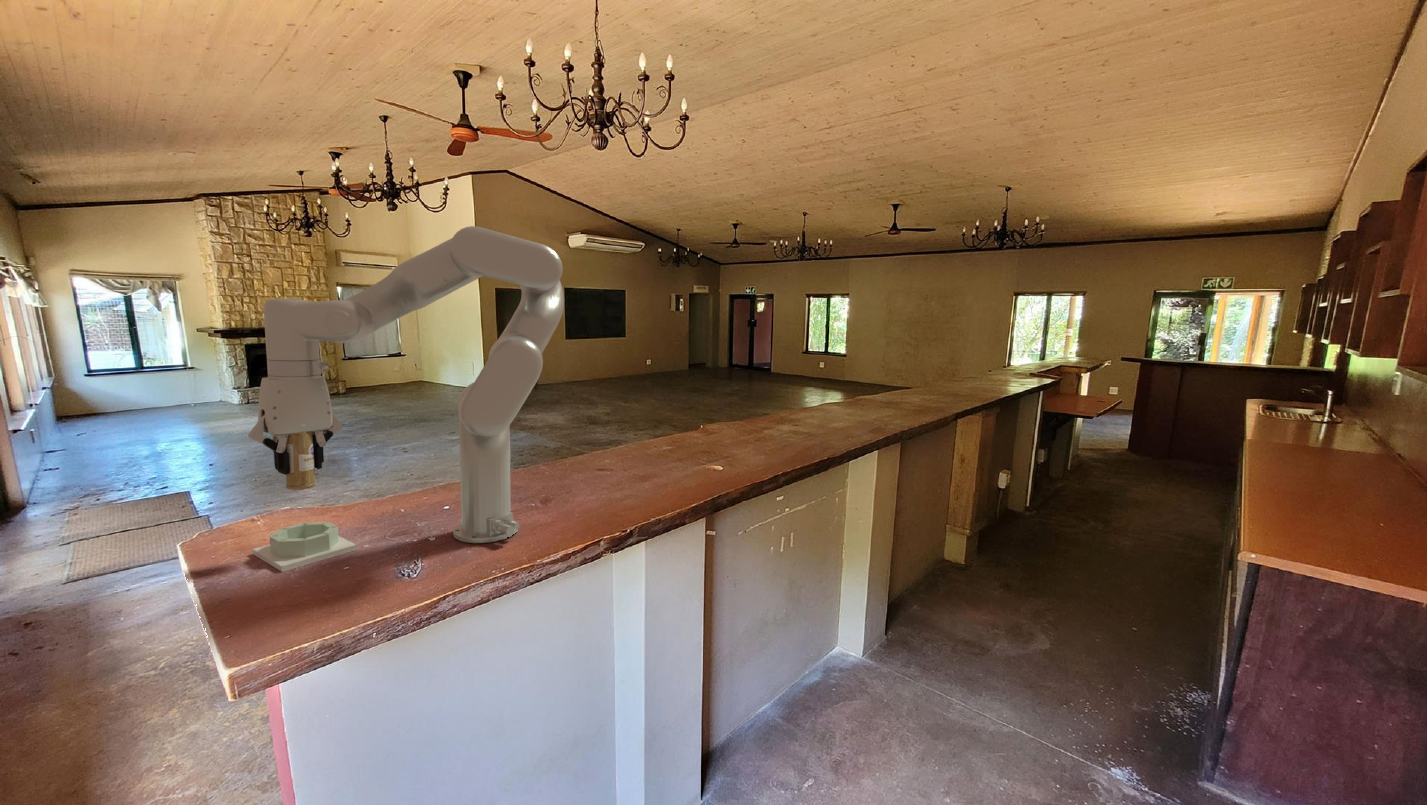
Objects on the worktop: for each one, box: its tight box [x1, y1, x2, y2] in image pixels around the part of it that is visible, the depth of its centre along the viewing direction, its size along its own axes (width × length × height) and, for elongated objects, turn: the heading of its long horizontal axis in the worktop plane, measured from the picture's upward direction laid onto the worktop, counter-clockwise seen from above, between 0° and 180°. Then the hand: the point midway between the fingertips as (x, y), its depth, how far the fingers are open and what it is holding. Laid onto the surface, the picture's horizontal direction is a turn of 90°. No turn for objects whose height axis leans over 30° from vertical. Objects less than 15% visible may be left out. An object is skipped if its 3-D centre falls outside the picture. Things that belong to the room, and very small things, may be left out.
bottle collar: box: [252, 521, 358, 573], centre depth 104 cm, size 12×12×4 cm
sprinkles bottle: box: [285, 425, 317, 491], centre depth 102 cm, size 5×5×13 cm
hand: (300, 469), depth 102 cm, fingers closed on sprinkles bottle, 4 cm apart
